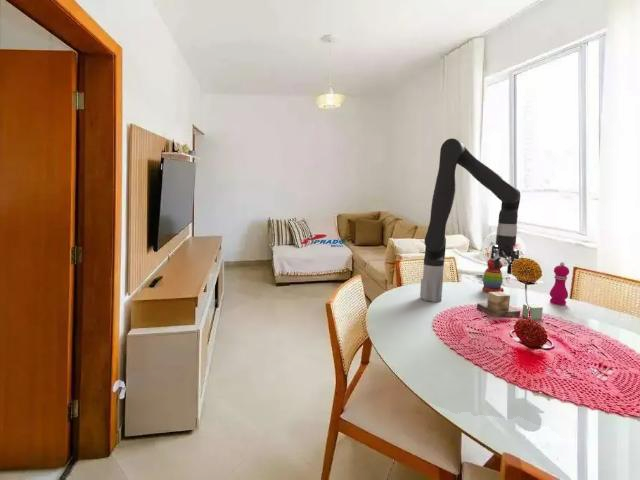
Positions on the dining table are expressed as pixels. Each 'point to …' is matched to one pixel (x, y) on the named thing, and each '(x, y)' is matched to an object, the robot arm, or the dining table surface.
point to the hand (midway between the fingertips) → (502, 271)
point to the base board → (498, 312)
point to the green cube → (533, 311)
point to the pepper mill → (559, 285)
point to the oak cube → (498, 300)
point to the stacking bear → (492, 278)
